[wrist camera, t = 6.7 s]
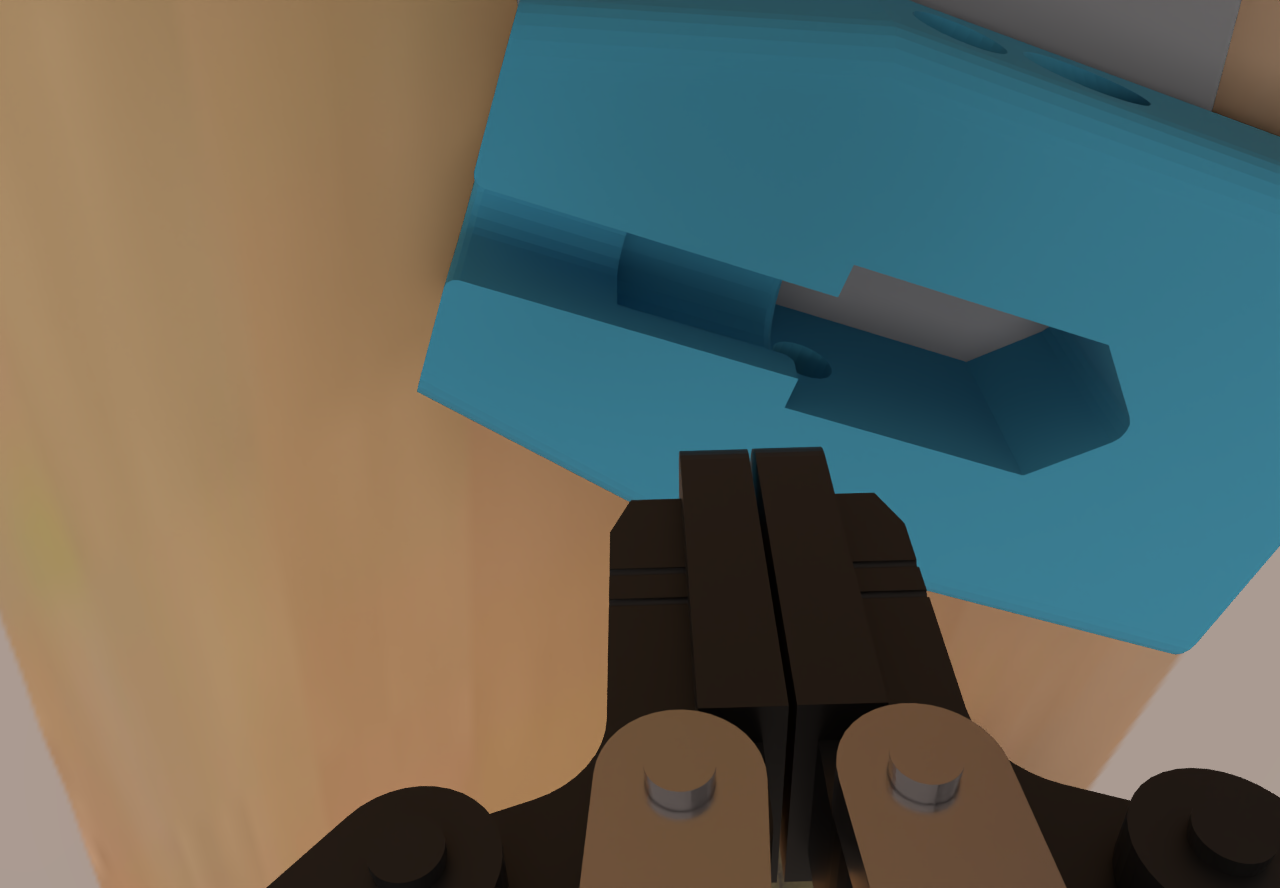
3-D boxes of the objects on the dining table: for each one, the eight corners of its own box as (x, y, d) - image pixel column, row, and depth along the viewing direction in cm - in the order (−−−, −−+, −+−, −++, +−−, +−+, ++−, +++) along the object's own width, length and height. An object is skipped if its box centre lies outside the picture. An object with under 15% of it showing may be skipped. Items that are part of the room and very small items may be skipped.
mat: (489, -354, 21) (485, -354, 20) (1328, -384, 20) (1343, -385, 20) (552, 383, 30) (551, 393, 29) (1134, 365, 30) (1142, 375, 29)
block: (428, 358, 29) (1103, 544, 32) (395, 472, 24) (1173, 670, 28) (558, -137, 22) (1381, 167, 26) (544, -96, 18) (1524, 259, 22)
